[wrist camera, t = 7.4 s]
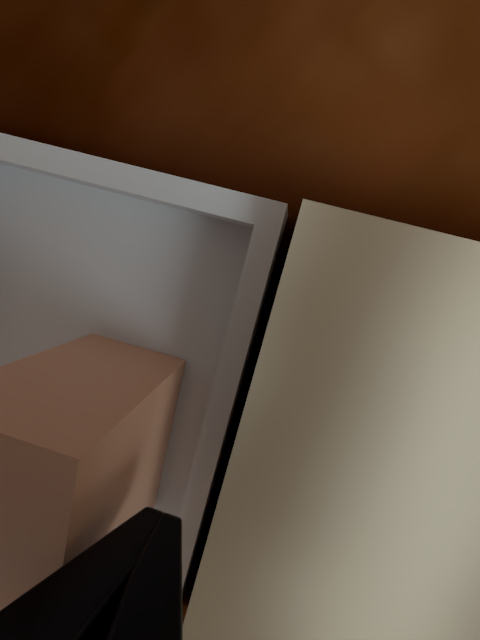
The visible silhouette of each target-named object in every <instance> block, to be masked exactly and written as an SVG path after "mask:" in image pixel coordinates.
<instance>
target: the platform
mask: <svg viewBox="0 0 480 640" xmlns="http://www.w3.org/2000/svg"><path fill="white" fill-rule="evenodd" d="M183 640H480V242H478V241H474V240H470V239H466V238H462V237H458V236H454V235H450V234H446V233H442V232H438V231H433V230H429V229H425V228H421V227H417V226H413V225H409V224H405V223H401V222H397V221H393V220H388V219H384V218H380V217H376V216H372V215H368V214H364V213H360V212H356V211H352V210H348V209H343V208H339V207H335V206H331V205H327V204H323V203H319V202H315V201H311V200H307V199H303V201H302V204H301V208H300V211H299V215H298V219H297V222H296V226H295V229H294V233H293V236H292V240H291V243H290V247H289V250H288V254H287V258H286V261H285V265H284V268H283V272H282V275H281V279H280V282H279V286H278V289H277V293H276V297H275V300H274V304H273V307H272V311H271V314H270V318H269V321H268V325H267V329H266V332H265V336H264V339H263V343H262V346H261V350H260V353H259V357H258V360H257V364H256V368H255V371H254V375H253V378H252V382H251V385H250V389H249V392H248V396H247V399H246V403H245V407H244V410H243V414H242V417H241V421H240V424H239V428H238V431H237V435H236V439H235V442H234V446H233V449H232V453H231V456H230V460H229V463H228V467H227V470H226V474H225V478H224V481H223V485H222V488H221V492H220V495H219V499H218V502H217V506H216V509H215V513H214V517H213V520H212V524H211V527H210V531H209V534H208V538H207V541H206V545H205V549H204V552H203V556H202V559H201V563H200V566H199V570H198V573H197V577H196V580H195V584H194V588H193V591H192V595H191V598H190V602H189V605H188V609H187V612H186V616H185V619H184V623H183Z"/></svg>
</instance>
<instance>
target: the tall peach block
mask: <svg viewBox="0 0 480 640" xmlns="http://www.w3.org/2000/svg"><path fill="white" fill-rule="evenodd" d="M185 363H186V360H184V359H180V358H177V357H173V356H170V355H166V354H163V353H159V352H156V351H152V350H149V349H145V348H142V347H138V346H135V345H131V344H128V343H124V342H121V341H117V340H114V339H110V338H107V337H103V336H100V335H96V334H93V333H92V334H89V335H86V336H84V337H81V338H78V339H75V340H72V341H70V342H67V343H64V344H61V345H59V346H56V347H53V348H50V349H47V350H45V351H42V352H39V353H36V354H33V355H31V356H28V357H25V358H22V359H20V360H17V361H14V362H11V363H8V364H6V365H3V366H0V610H2V609H3V608H4V607H6V606H7V605H9V604H10V603H11V602H13V601H14V600H16V599H17V598H18V597H20V596H21V595H23V594H24V593H25V592H27V591H28V590H30V589H31V588H32V587H34V586H35V585H37V584H38V583H39V582H41V581H42V580H44V579H45V578H46V577H48V576H49V575H51V574H52V573H53V572H55V571H56V570H58V569H59V568H60V567H62V566H63V565H65V564H66V563H67V562H69V561H70V560H72V559H73V558H74V557H76V556H77V555H79V554H80V553H82V552H83V551H84V550H86V549H87V548H89V547H90V546H91V545H93V544H94V543H96V542H97V541H98V540H100V539H101V538H103V537H104V536H105V535H107V534H108V533H110V532H111V531H112V530H114V529H115V528H117V527H118V526H119V525H121V524H122V523H124V522H125V521H126V520H128V519H129V518H131V517H132V516H133V515H135V514H136V513H138V512H139V511H140V510H142V509H143V508H145V507H151V508H154V506H155V504H156V500H157V495H158V490H159V486H160V481H161V476H162V471H163V467H164V462H165V457H166V453H167V448H168V443H169V439H170V434H171V429H172V424H173V420H174V415H175V410H176V406H177V401H178V396H179V392H180V387H181V382H182V377H183V373H184V368H185Z"/></svg>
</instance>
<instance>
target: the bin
mask: <svg viewBox="0 0 480 640" xmlns="http://www.w3.org/2000/svg"><path fill="white" fill-rule="evenodd" d="M287 218H288V204H287V203H283V202H279V201H275V200H271V199H267V198H263V197H259V196H255V195H251V194H247V193H243V192H239V191H235V190H231V189H226V188H222V187H218V186H214V185H210V184H206V183H202V182H198V181H194V180H190V179H186V178H182V177H178V176H174V175H170V174H166V173H162V172H158V171H154V170H150V169H145V168H141V167H137V166H133V165H129V164H125V163H121V162H117V161H113V160H109V159H105V158H101V157H97V156H93V155H89V154H85V153H81V152H77V151H73V150H68V149H64V148H60V147H56V146H52V145H48V144H44V143H40V142H36V141H32V140H28V139H24V138H20V137H16V136H12V135H8V134H4V133H0V366H3V365H6V364H8V363H11V362H14V361H17V360H20V359H22V358H25V357H28V356H31V355H33V354H36V353H39V352H42V351H45V350H47V349H50V348H53V347H56V346H59V345H61V344H64V343H67V342H70V341H72V340H75V339H78V338H81V337H84V336H86V335H89V334H92V333H93V334H96V335H100V336H103V337H107V338H110V339H114V340H117V341H121V342H124V343H128V344H131V345H135V346H138V347H142V348H145V349H149V350H152V351H156V352H159V353H163V354H166V355H170V356H173V357H177V358H180V359H184V360H186V363H185V368H184V373H183V377H182V382H181V387H180V392H179V396H178V401H177V406H176V410H175V415H174V420H173V424H172V429H171V434H170V439H169V443H168V448H167V453H166V457H165V462H164V467H163V471H162V476H161V481H160V486H159V490H158V495H157V500H156V504H155V506H154V509H157V510H160V511H163V512H164V513H169V514H172V515H174V516H177V517H180V518H181V520H182V599H183V595H184V592H185V588H186V584H187V581H188V577H189V573H190V570H191V566H192V563H193V559H194V555H195V552H196V548H197V544H198V541H199V537H200V533H201V530H202V526H203V523H204V519H205V515H206V512H207V508H208V504H209V501H210V497H211V494H212V490H213V486H214V483H215V479H216V475H217V472H218V468H219V465H220V461H221V457H222V454H223V450H224V446H225V443H226V439H227V436H228V432H229V428H230V425H231V421H232V417H233V414H234V410H235V406H236V403H237V399H238V396H239V392H240V388H241V385H242V381H243V377H244V374H245V370H246V367H247V363H248V359H249V356H250V352H251V348H252V345H253V341H254V338H255V334H256V330H257V327H258V323H259V319H260V316H261V312H262V309H263V305H264V301H265V298H266V294H267V290H268V287H269V283H270V279H271V276H272V272H273V269H274V265H275V261H276V258H277V254H278V250H279V247H280V243H281V240H282V236H283V232H284V229H285V225H286V221H287Z"/></svg>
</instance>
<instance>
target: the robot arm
mask: <svg viewBox="0 0 480 640" xmlns="http://www.w3.org/2000/svg"><path fill="white" fill-rule="evenodd" d="M0 640H183V618H182V520H181V518H180V517H177V516H174V515H172V514H169V513H164V512H163V511H160V510H157V509H154V508H151V507H145V508H143V509H142V510H140V511H139V512H138V513H136V514H135V515H133V516H132V517H131V518H129V519H128V520H126V521H125V522H124V523H122V524H121V525H119V526H118V527H117V528H115V529H114V530H112V531H111V532H110V533H108V534H107V535H105V536H104V537H103V538H101V539H100V540H98V541H97V542H96V543H94V544H93V545H91V546H90V547H89V548H87V549H86V550H84V551H83V552H82V553H80V554H79V555H77V556H76V557H74V558H73V559H72V560H70V561H69V562H67V563H66V564H65V565H63V566H62V567H60V568H59V569H58V570H56V571H55V572H53V573H52V574H51V575H49V576H48V577H46V578H45V579H44V580H42V581H41V582H39V583H38V584H37V585H35V586H34V587H32V588H31V589H30V590H28V591H27V592H25V593H24V594H23V595H21V596H20V597H18V598H17V599H16V600H14V601H13V602H11V603H10V604H9V605H7V606H6V607H4V608H3V609H2V610H0Z"/></svg>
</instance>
